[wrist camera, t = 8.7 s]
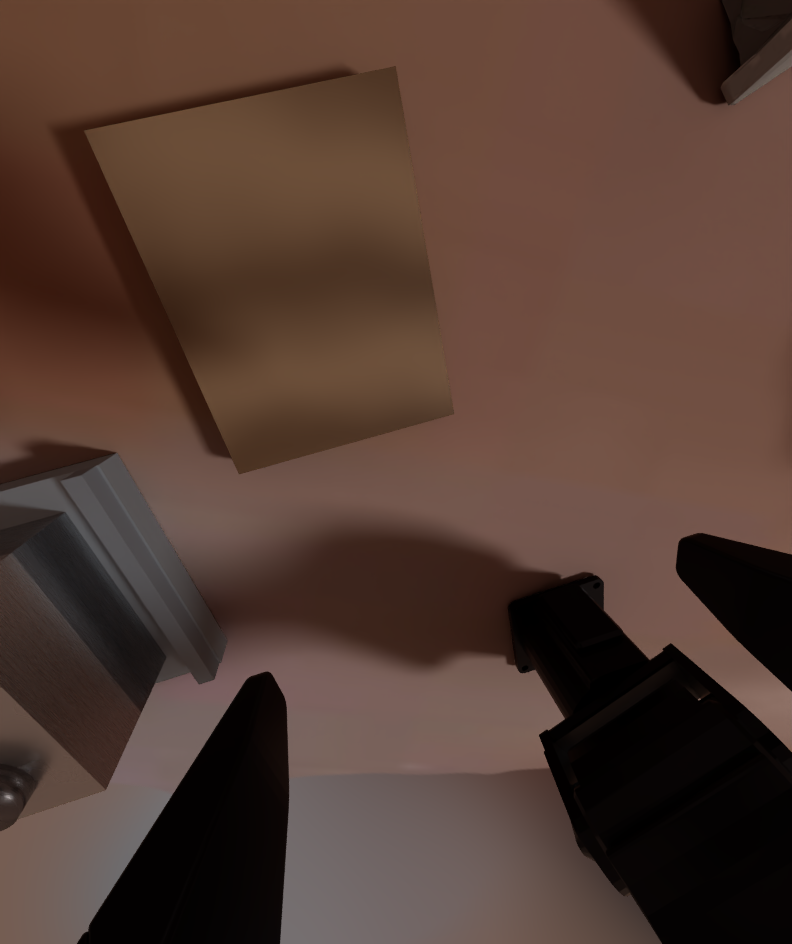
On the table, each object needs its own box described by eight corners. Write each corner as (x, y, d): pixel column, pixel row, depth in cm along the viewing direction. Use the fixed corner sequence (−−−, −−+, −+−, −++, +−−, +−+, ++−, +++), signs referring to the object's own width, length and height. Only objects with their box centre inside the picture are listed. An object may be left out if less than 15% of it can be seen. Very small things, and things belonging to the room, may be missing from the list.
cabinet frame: (227, 640, 22) (216, 678, 19) (49, 696, 21) (16, 742, 19) (116, 452, 17) (84, 474, 14) (-122, 516, 16) (-196, 550, 14)
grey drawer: (65, 511, 16) (-102, 638, 10) (166, 657, 19) (93, 816, 13) (-72, 549, 15) (-340, 708, 9) (58, 690, 19) (-69, 870, 13)
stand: (444, 406, 19) (454, 413, 17) (245, 462, 18) (239, 474, 16) (388, 91, 14) (395, 66, 12) (108, 150, 13) (84, 130, 11)
